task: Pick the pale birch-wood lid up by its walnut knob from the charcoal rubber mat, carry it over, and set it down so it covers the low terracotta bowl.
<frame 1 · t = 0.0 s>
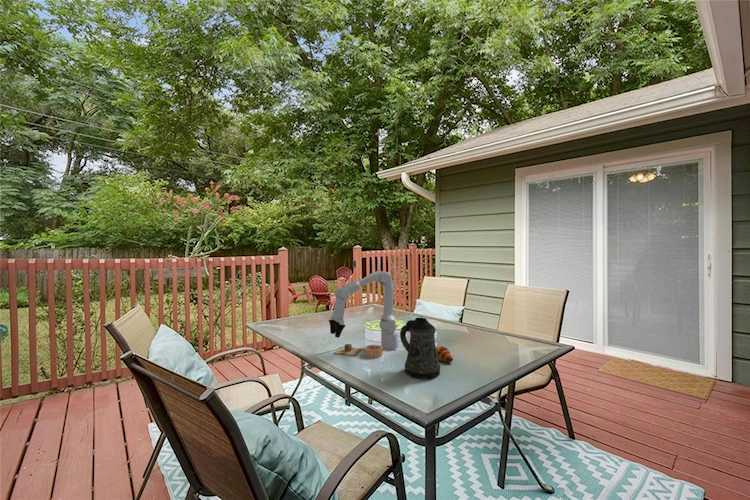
hand: (334, 335, 181), 11 cm above the table, tool pointing down, fingers open, 7 cm apart
beer stein: (419, 372, 159), on the table
mat: (348, 352, 186), on the table
croissant: (439, 358, 179), on the table
lid: (348, 351, 186), resting on mat
bowl: (373, 355, 181), on the table
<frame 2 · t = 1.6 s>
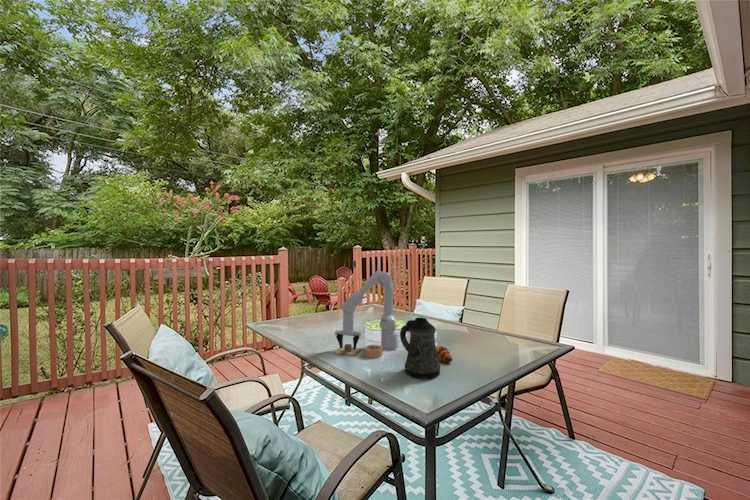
hand: (347, 348, 186), 2 cm above the table, tool pointing down, fingers open, 7 cm apart
nothing on the table moved.
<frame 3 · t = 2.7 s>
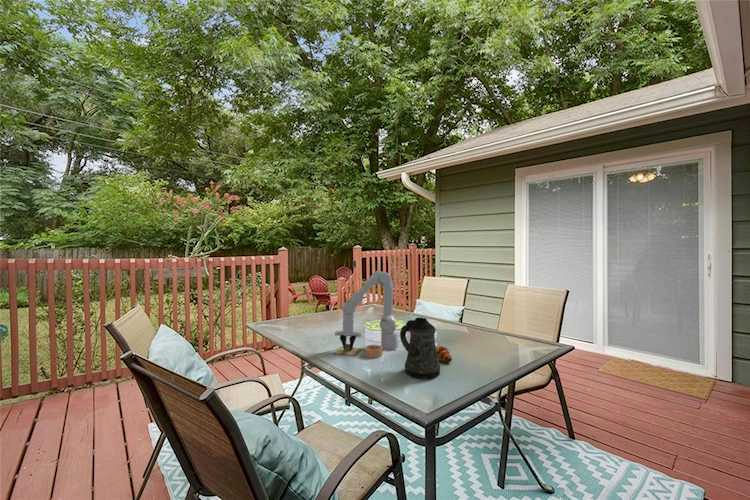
hand: (348, 349, 186), 2 cm above the table, tool pointing down, fingers closed on lid, 3 cm apart
lid: (348, 351, 186), resting on mat, touching gripper
everything else where it was.
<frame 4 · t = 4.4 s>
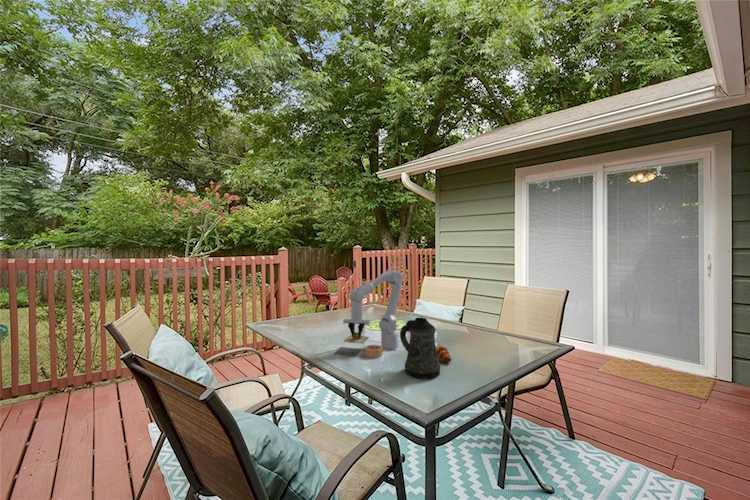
hand: (356, 337, 184), 9 cm above the table, tool pointing down, fingers closed on lid, 3 cm apart
lid: (356, 339, 184), point 7 cm above the table, touching gripper
everything else where it was.
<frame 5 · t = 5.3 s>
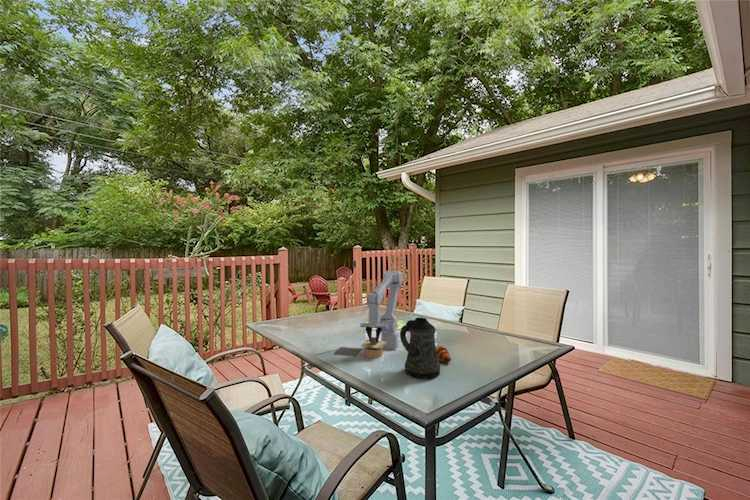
hand: (373, 341, 180), 8 cm above the table, tool pointing down, fingers closed on lid, 3 cm apart
lid: (373, 344, 181), point 6 cm above the table, touching gripper
everything else where it was.
when the fingers open (7 cm above the table, at t = 6.1 s): lid stays where it is, resting on bowl.
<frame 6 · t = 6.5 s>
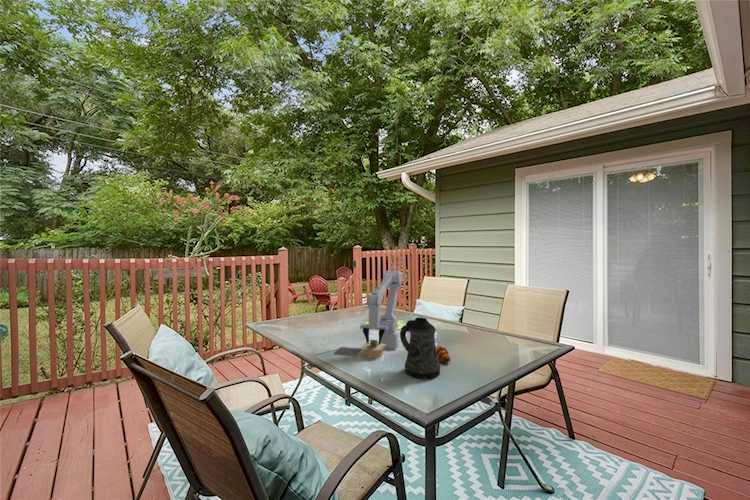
hand: (373, 343, 180), 7 cm above the table, tool pointing down, fingers open, 6 cm apart
lid: (373, 347, 181), point 4 cm above the table, touching bowl
everything else where it was.
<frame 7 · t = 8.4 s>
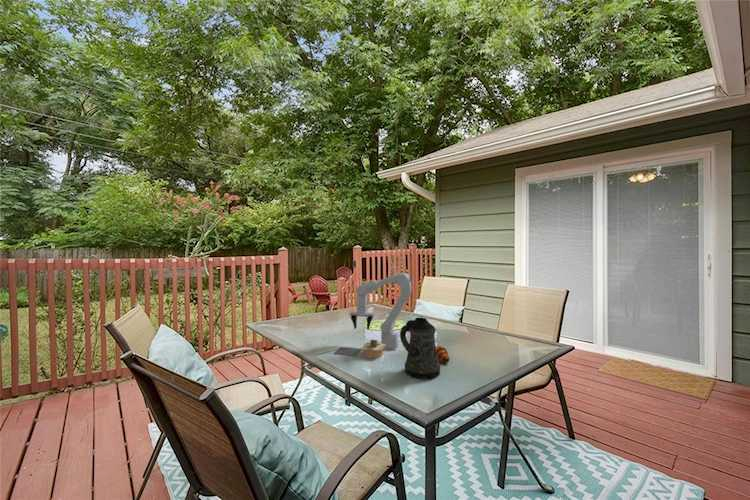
hand: (361, 328, 199), 10 cm above the table, tool pointing down, fingers open, 7 cm apart
nothing on the table moved.
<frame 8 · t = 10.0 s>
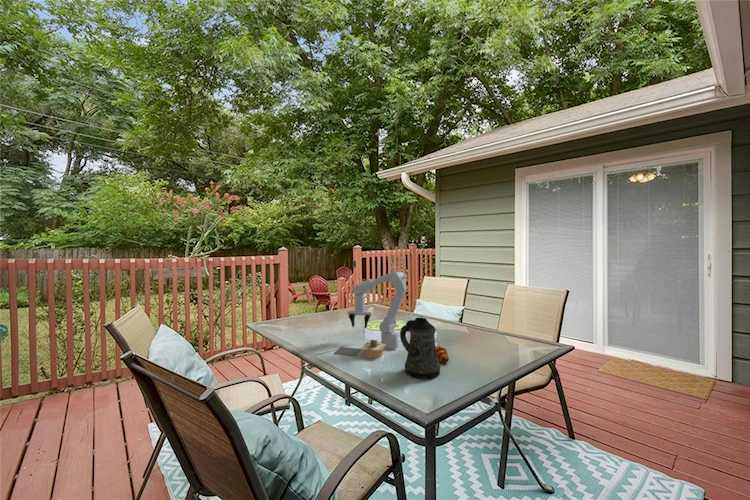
hand: (359, 327, 203), 9 cm above the table, tool pointing down, fingers open, 7 cm apart
at the end: lid 0.3 cm off-centre on the bowl, point 4.5 cm above the bowl's base; lid tilted 0°; the gripper is holding nothing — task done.
